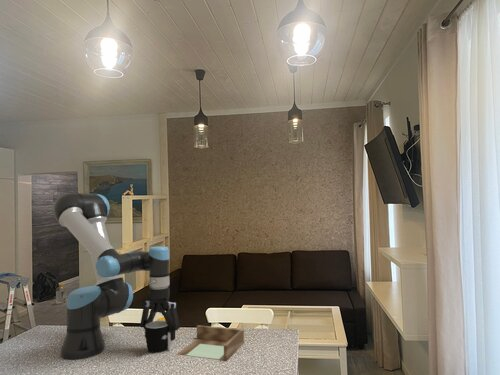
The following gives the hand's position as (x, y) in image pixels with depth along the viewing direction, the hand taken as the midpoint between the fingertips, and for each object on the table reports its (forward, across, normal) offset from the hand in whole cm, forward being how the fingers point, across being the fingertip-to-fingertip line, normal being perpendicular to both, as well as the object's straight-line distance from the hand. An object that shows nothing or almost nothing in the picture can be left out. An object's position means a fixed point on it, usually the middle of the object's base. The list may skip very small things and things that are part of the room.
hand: (160, 347), depth 132 cm
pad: (0, +20, +2) cm, 20 cm away
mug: (+1, 0, 0) cm, 1 cm away
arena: (+1, +19, +4) cm, 20 cm away
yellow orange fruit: (+1, -8, +14) cm, 16 cm away
